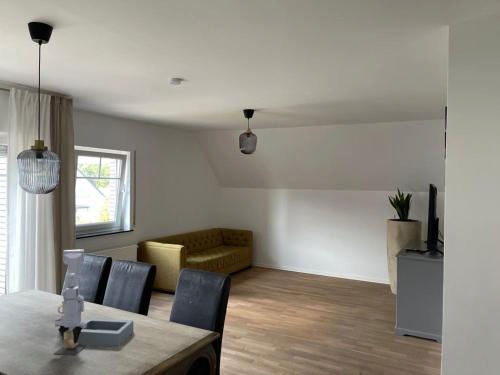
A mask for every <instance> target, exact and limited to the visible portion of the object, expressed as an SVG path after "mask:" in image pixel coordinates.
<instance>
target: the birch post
mask: <svg viewBox="0 0 500 375" xmlns="http://www.w3.org/2000/svg"><path fill="white" fill-rule="evenodd" d="M72 330H73V329H69V330H67V331H65V332H64V341H63V346H64V348H74V347H75V346H76V345H79V344H78V342H77V343H74V335H73V331H72Z"/></svg>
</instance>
